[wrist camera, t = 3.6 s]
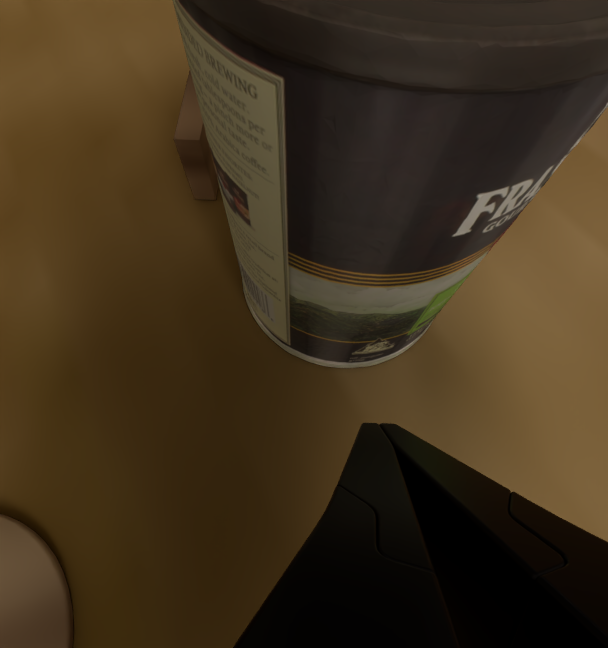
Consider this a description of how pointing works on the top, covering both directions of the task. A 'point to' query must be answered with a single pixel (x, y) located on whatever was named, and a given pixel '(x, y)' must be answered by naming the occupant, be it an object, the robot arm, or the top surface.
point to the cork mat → (32, 591)
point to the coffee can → (383, 149)
